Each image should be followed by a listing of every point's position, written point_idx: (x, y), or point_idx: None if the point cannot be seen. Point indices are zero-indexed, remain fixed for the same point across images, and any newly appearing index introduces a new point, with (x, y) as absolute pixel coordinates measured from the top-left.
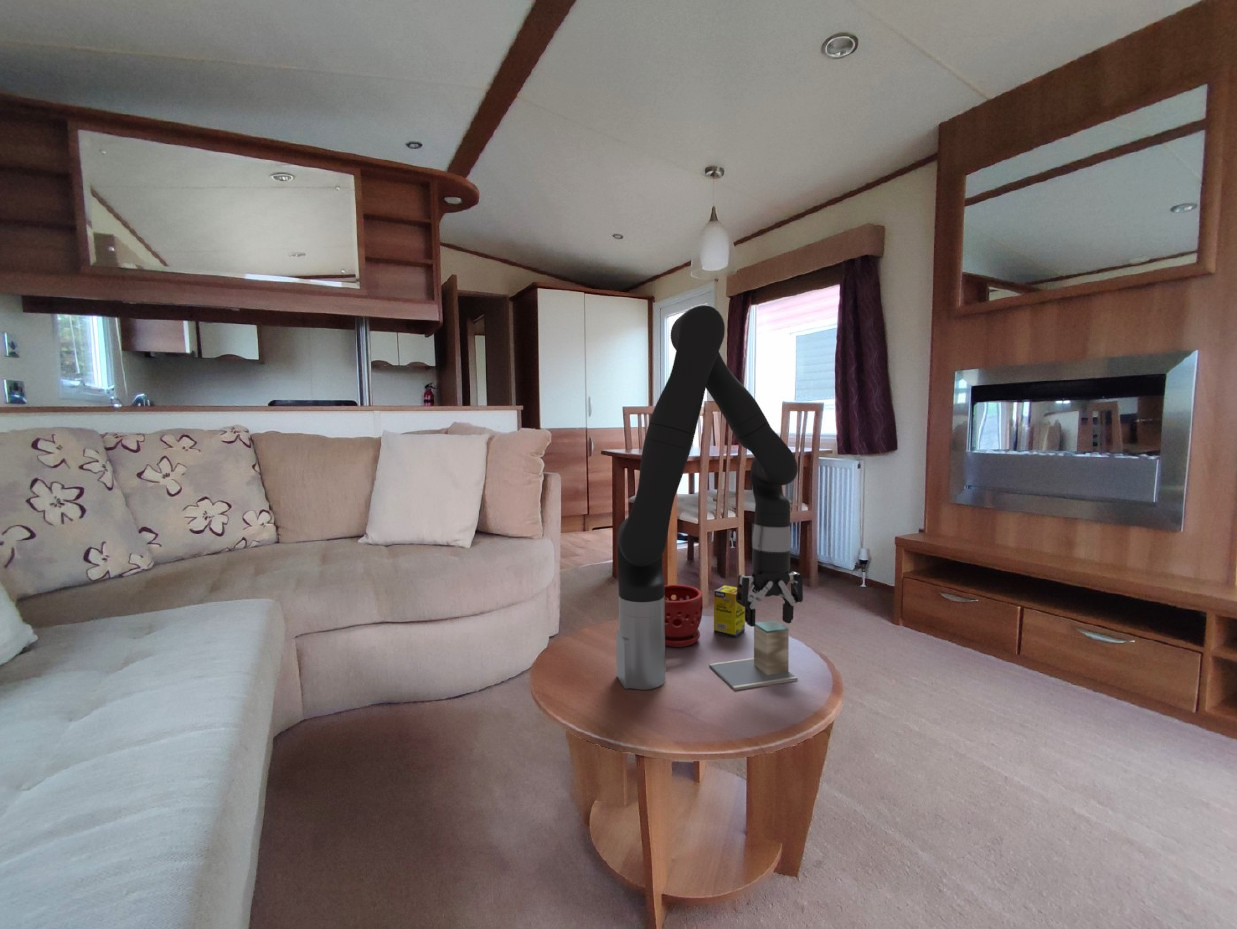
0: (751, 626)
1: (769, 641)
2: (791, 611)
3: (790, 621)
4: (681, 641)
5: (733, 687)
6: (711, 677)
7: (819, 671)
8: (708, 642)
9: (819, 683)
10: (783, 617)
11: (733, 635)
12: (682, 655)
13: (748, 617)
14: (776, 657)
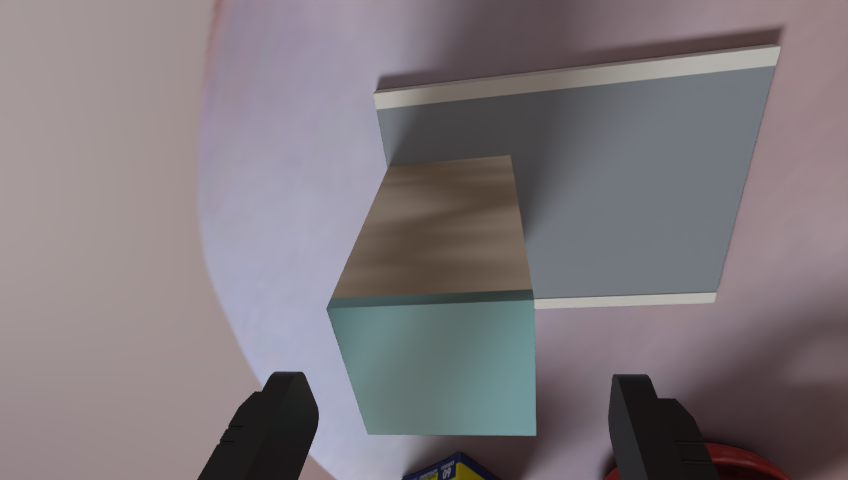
0: (643, 377)
1: (504, 250)
2: (229, 454)
3: (276, 379)
4: (728, 461)
5: (775, 57)
6: (777, 204)
7: (237, 158)
8: (574, 448)
9: (278, 39)
10: (308, 433)
11: (464, 462)
12: (746, 394)
13: (710, 457)
14: (451, 197)
